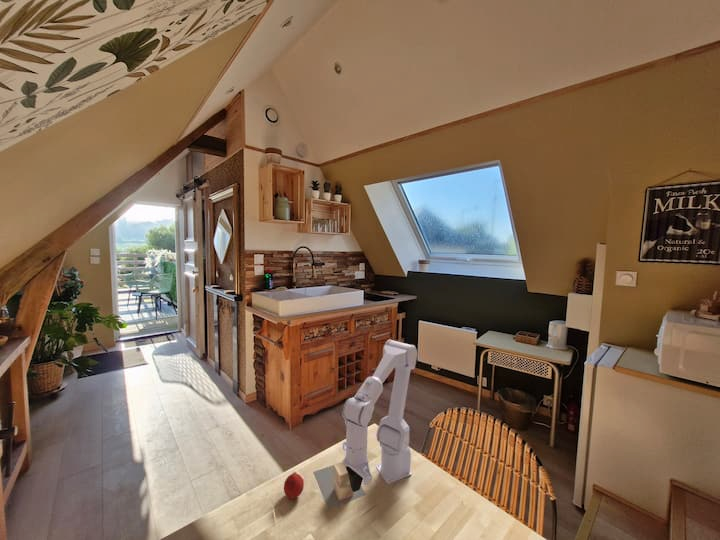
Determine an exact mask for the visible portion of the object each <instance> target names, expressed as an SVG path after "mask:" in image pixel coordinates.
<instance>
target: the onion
mask: <svg viewBox="0 0 720 540" xmlns="http://www.w3.org/2000/svg"><path fill="white" fill-rule="evenodd" d="M283 483H284V484H283V492H284V494H285V497H287V498H288V499H291V500H293V499H296V498H298V497H299V496H301V494H302V492H303V490H304V488H305V487H304V486H305V485H304V483H305V482H304V479H303V477H302V476H301V475H300V474H299V473H297V471H293V472H292V473H291V474H290V475H288V476H287V478H286V479H285V481H284V482H283Z"/></svg>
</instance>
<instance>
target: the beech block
mask: <svg viewBox="0 0 720 540" xmlns="http://www.w3.org/2000/svg"><path fill="white" fill-rule="evenodd" d="M338 463H339V464H338ZM338 463H335V464H336V465H335V464H333V465H334V491H335V493H336V495H337V497H338V499H339V501H341V500H343V499H346V498H348V497H351V496H353V491H352V489H351V485H350V480H349V476H348V472H347V470H346V467H344V466H343V464H342V463H341V462H338Z"/></svg>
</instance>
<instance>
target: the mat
mask: <svg viewBox="0 0 720 540" xmlns="http://www.w3.org/2000/svg"><path fill="white" fill-rule="evenodd" d="M339 463H342V461H341V462H338V463H335V464H333V465H329V466H327V467H323V468H320V469H318V470H315V471H313V474H314V477H315V480H316V482H317V484H318V486H319V489H320V492H321V495H322V496H323V499H324V501H325V505H326V506H327V508H328V510H330V509H334V508H336V507H338V506H341V505H343V504H346V503H348V502H350V501H353V500H356V499H358V498H361V497H363V496H365V495H367V494H366V491H365V490H364V489H363V486H362V485H361V487H360V490H358V491H355V492H353V496H351V497H348V498H346V499H343V500H341V501H339V499H338V497H337V495H336V493H335V491H334V465H336V464H339Z"/></svg>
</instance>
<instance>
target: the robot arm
mask: <svg viewBox="0 0 720 540" xmlns="http://www.w3.org/2000/svg"><path fill="white" fill-rule="evenodd" d="M417 358H418V350H417V348H416V345H414V344H408V343H404V342H401V341H397V340H393V339H388V340H387V341H386V342H385V344H384V345H383V348H382V358H381V360H380V361H379V363H378V365H377V367H376V369H375V371H374V373H373V374H372V375H371V376H367V377H366V379H364V382H363V383H362V384H361V385H360V387H359V388H358V390H357V392H356V393H355V395H354V396H352V397H350V398H348V399H346V401H345V403H344V405H343V409H342V411H341V415H342V418H343V420H344V425H345V426H346V435H345V436H346V437H345V438H346V439H345V440H346V441H344V442H342V449H343V451H344V459H342V460H341V462H342V464H343V466H344V467H346V470H347V472H348V476H349V480H350V485H351V489H352V491H353V492H355V491H358V490H360V487H361V486H362V483H363V485H364V486H367V485H370V484H372V483H373V475H372V473H371V470H370V465H369V459H368V424H369V423H370V421H371V420H372V417H373V414H374V413H373V412H374V410H375V404H376V403H377V401H378V399H379V398H380V396H381V394H382V393H383V391H384V386H383V385H384V384H383V383H384V382H385V381H386V379H387V378H388V377H389V376H390V374H391V373H392V371H395V372H394V377H393V384H392V390H391V395H390V402H389V405H388V406H389V407H388V414H387V415H385V416H384V417H382V418H381V419H380V421H379V425H378V427H377V430H376V436H375V437H376V441H377V442H378V443H379V447H380V448H381V450H380V451H381V456H380V457H381V458H380V461H381V462H380V464H378V465H375V468H376V470H377V471H378V473H379V474H380V476H382V478H383V480H385V482H386V483H387V484H389V485H390V484H392V483H394V482H396V481H399V480H401V479H405V478H407V477H409V476H411V475H412V472H411V461H412V460H411V459H412V458H411V457H412V453H411V450H410V447H409V444H410V426H409V425H408V423H407V422H406V421H405V419H404V415H405V413H404V412H405V408H406V407H405V406H406V400H407V396H408V395H407V394H408V387H409V381H410V375H411V370H415V368H416V364H417ZM394 369H395V370H394Z"/></svg>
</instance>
